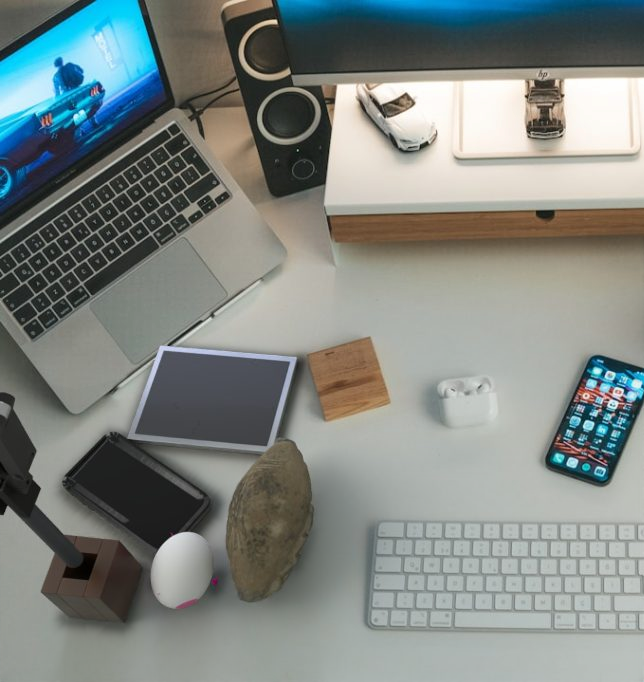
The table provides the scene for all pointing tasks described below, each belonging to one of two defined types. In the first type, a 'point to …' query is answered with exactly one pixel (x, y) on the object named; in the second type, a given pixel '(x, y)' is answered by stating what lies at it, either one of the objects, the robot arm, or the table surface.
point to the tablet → (214, 400)
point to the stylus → (53, 537)
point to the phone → (136, 492)
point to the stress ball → (182, 570)
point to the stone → (269, 521)
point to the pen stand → (94, 581)
